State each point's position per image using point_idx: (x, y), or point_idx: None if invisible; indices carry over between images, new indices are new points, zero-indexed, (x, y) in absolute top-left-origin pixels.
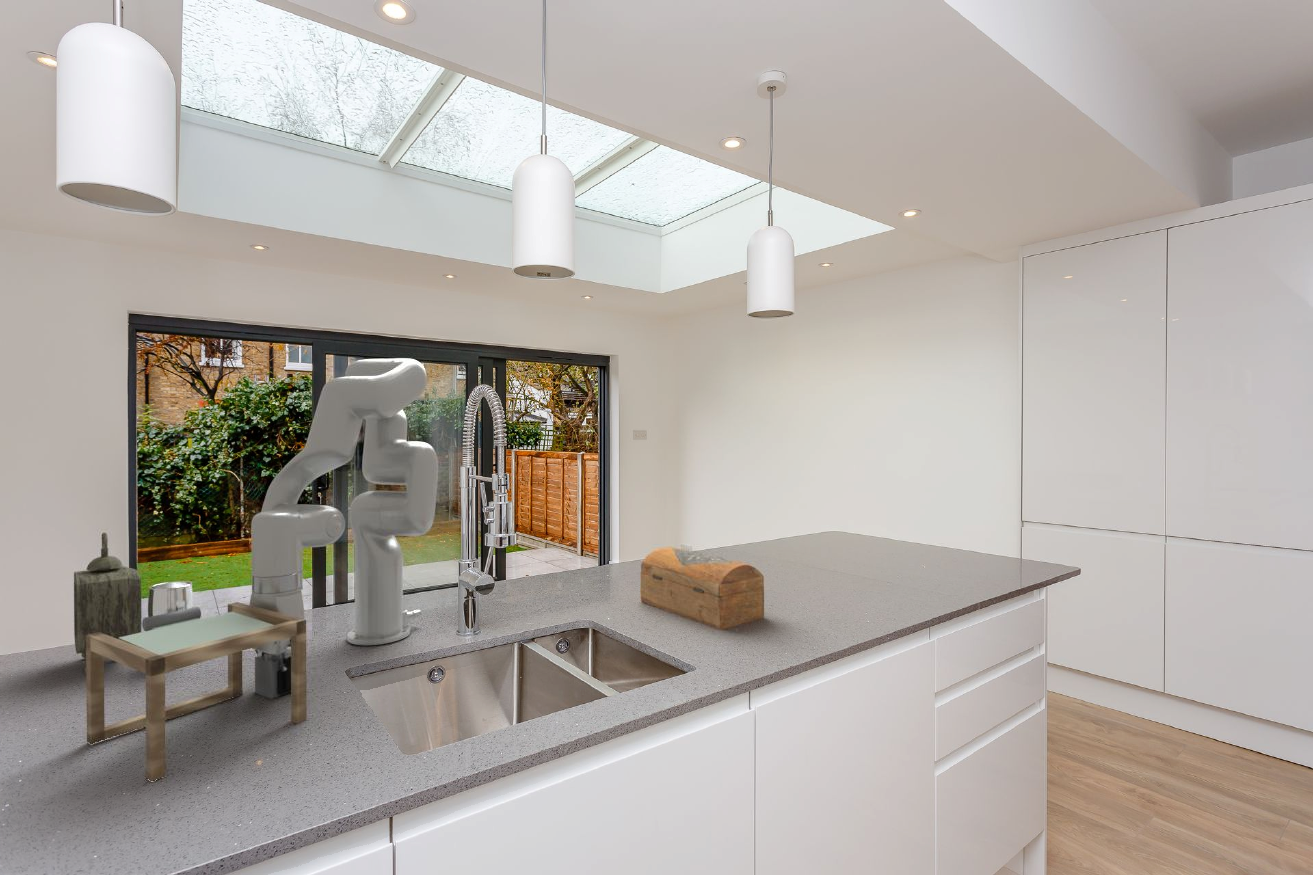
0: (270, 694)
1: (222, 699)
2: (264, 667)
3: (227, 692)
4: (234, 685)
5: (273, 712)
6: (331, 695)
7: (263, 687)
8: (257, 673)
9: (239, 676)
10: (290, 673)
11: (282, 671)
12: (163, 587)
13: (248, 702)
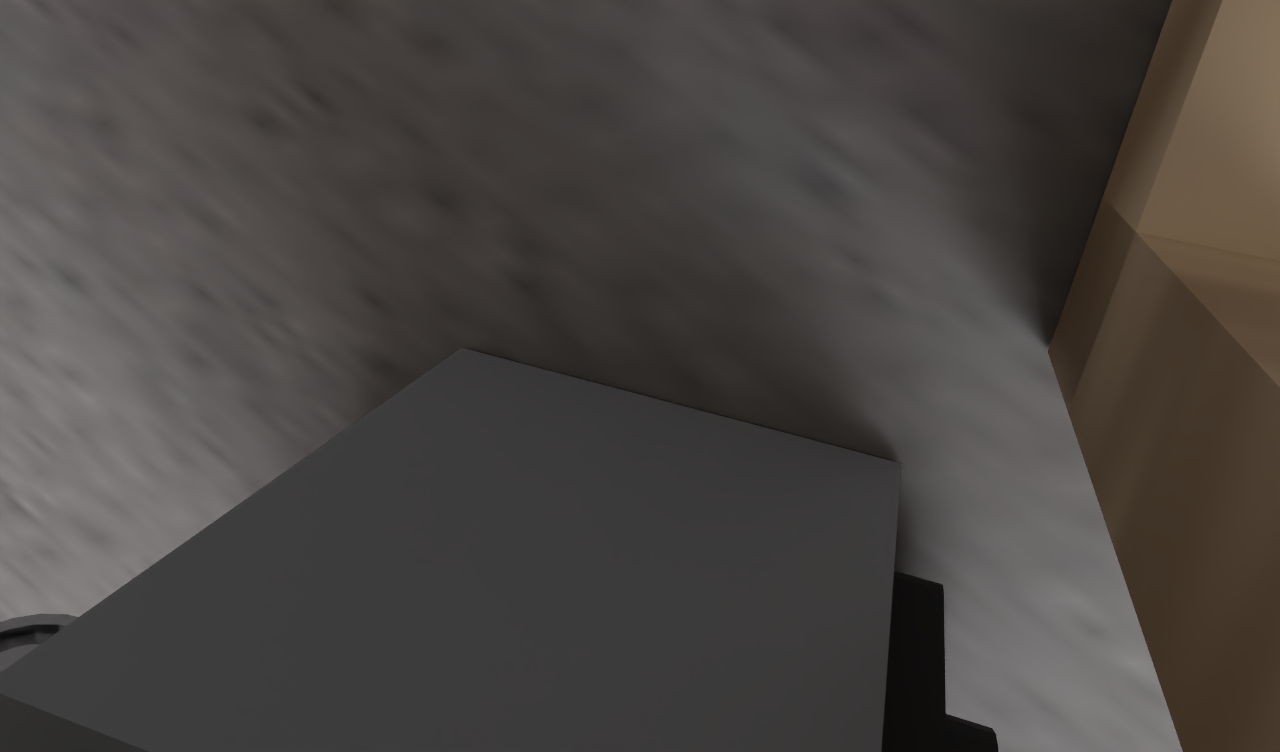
0: (455, 371)
1: (1177, 6)
2: (416, 672)
3: (1172, 120)
4: (1137, 283)
5: (52, 24)
6: (9, 580)
7: (626, 455)
8: (783, 640)
9: (1121, 449)
10: None
11: (55, 619)
12: None
13: (657, 148)
